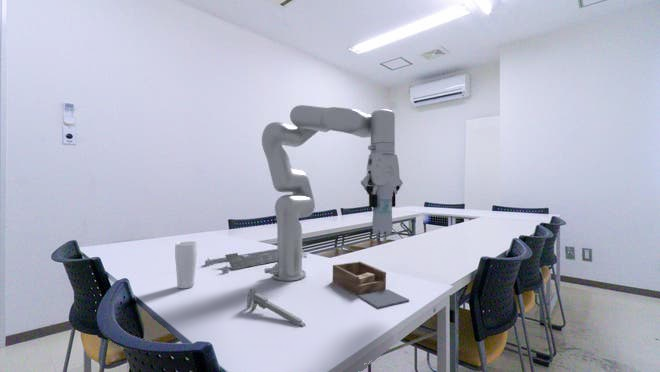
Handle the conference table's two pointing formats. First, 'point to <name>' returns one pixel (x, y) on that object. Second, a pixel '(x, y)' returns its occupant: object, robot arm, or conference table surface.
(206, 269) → the conference table surface
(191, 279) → the drinking glass
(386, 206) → the bottle
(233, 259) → the paper cutter
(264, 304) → the caliper
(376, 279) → the open wooden box
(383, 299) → the mat
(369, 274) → the offcut upper
